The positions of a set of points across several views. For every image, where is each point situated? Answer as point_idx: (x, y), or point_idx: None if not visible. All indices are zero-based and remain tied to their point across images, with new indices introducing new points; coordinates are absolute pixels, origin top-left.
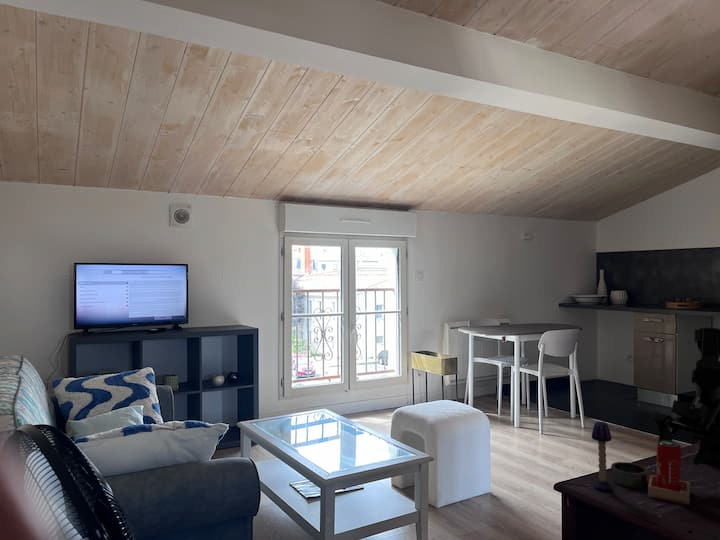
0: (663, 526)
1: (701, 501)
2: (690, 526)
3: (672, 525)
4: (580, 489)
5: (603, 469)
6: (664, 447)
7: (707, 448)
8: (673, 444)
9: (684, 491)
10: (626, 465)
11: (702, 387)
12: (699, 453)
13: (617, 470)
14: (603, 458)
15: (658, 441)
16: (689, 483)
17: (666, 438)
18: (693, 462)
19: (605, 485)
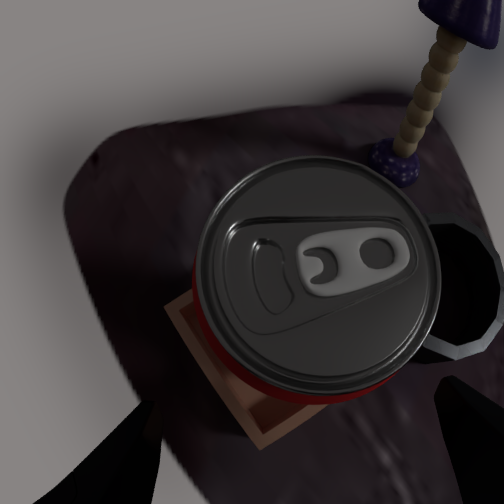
0: (143, 126)
1: (175, 390)
2: (102, 179)
3: (132, 146)
4: (397, 118)
5: (406, 112)
6: (287, 169)
7: (42, 501)
8: (290, 306)
9: (253, 400)
10: (490, 319)
11: None
12: (105, 456)
13: (443, 213)
14: (420, 81)
15: (409, 201)
16: (245, 430)
17: (498, 486)
18: (155, 403)
19: (380, 145)
